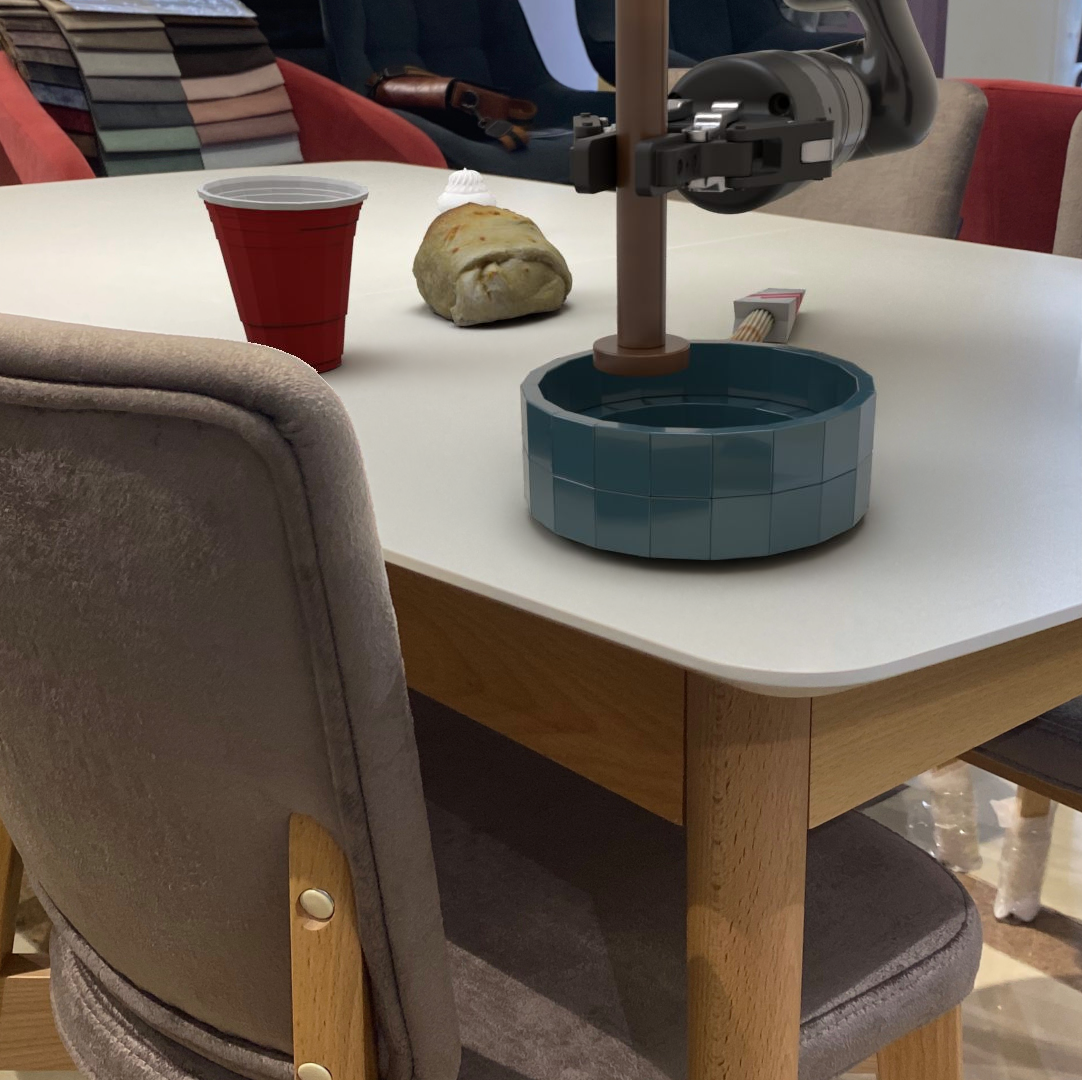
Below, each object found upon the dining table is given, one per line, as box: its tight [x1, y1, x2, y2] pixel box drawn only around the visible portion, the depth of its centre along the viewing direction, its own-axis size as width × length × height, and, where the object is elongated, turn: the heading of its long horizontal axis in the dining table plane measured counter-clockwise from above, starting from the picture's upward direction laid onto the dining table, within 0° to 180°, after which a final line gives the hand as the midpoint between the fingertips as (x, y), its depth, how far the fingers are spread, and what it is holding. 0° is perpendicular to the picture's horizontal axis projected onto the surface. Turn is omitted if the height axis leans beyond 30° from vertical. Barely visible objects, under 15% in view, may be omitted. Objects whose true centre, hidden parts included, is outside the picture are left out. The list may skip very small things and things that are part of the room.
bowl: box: [519, 338, 878, 561], centre depth 59 cm, size 16×16×6 cm
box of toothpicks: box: [728, 287, 807, 344], centre depth 89 cm, size 4×3×20 cm
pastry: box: [411, 202, 574, 327], centre depth 100 cm, size 14×12×8 cm
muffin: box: [436, 167, 498, 214], centre depth 133 cm, size 6×6×7 cm
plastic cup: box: [196, 174, 370, 373], centre depth 85 cm, size 11×11×12 cm
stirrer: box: [592, 0, 690, 377], centre depth 56 cm, size 4×4×16 cm
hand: (612, 169), depth 53 cm, fingers closed on stirrer, 2 cm apart
